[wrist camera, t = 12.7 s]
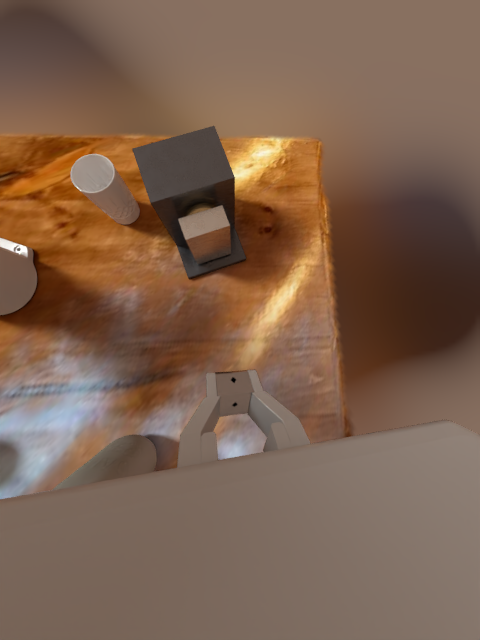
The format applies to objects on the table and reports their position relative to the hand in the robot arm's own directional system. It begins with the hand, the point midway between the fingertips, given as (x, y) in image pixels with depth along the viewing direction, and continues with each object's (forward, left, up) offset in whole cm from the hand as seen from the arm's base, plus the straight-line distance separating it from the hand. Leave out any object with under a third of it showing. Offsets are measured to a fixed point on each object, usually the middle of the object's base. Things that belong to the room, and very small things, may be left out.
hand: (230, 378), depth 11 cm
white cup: (-39, +15, -29) cm, 51 cm away
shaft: (-22, +23, -27) cm, 42 cm away
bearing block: (-20, +20, -29) cm, 40 cm away
